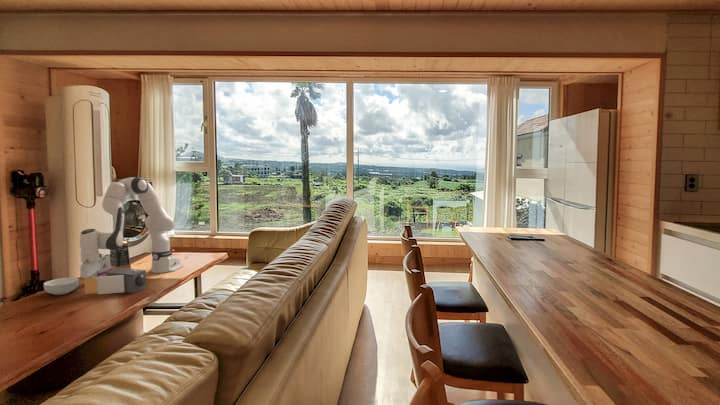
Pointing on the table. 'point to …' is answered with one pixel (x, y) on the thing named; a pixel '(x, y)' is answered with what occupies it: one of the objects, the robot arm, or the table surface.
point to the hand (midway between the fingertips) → (91, 281)
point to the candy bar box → (104, 266)
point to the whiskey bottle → (120, 257)
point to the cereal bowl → (61, 285)
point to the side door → (104, 284)
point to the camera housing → (131, 278)
